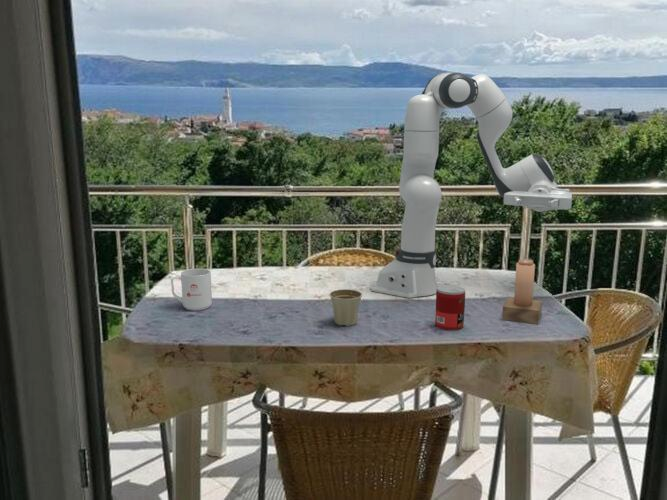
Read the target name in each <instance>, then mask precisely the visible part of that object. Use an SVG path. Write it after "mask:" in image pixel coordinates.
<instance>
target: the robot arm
mask: <svg viewBox="0 0 667 500" xmlns="http://www.w3.org/2000/svg"><path fill="white" fill-rule="evenodd" d="M463 107H467V108H468V109H469V110H470V111H471V112H472V114H473V116H474V118H475V119H476V120H477V124H478V130H477V133H476V139H477V143H478V146H479V149H480V151H481V154H482V156H483V159H484V161H485V163H486V165H487V168H488V170H489V172H490V175H491V177H492V180H493V183H494V187H495V189H496V190H495V191H496V192H497V194H498V195H499V197H501V198H503V204H504V205H506V206H518V207H519V206H520V207H529V208H530V209H531V210H532V211H535V212H538V213H539V212H541V213H542V212H546V211H547V212H549V211H555V210H559V211H560V210H562V211H563V210H570V209H572V202H573V194H572V193H571V189H570V188H564V187H559V185H558V184H557V183H556V181H555V177H556V174H555V171H554V169H553V166H552V165H551V164H550V162H549V161H548V160H547V158H546V157H544V156H543V155H540V154H538V153H532V154H530V155H528V156H525V157H524V158H522V159H521V160H519V161H518V162H515V163H514V164H512V165H511V166H508V167H506V168H505V167H503V165H502V163H501V160H500V158H499V155H498V154H497V150H496V147H495V145H496V143H497V142H498V141H499V139H500V138H501V136H503V134H504V133H505V132H506V130H507V129H508V128H509V126H510V124H511V122H512V120H513V119H512V118H513V109H512V107H511V104H510V102H509V101H508V99H507V97H506V96H505V94H504V92H502V90H501V89H500V88H499V86H498V85H497V84H496V83H495V82H494V80H493V79H491V77H490V76H488V75H487V74H484V73H479V74H475V75H474V76H472V77H469V76H468V75H466V74H464V73H460V72H450V71H449V72H443V73H438V74H436V75H434V76H432V77H431V78H429V80H428V82H427V84H426V85H425V87H424V89H423V90H422V93H421V94H417V95H414V96H412V97H411V98H410V99H409V100H408V103H407V106H406V111H405V112H406V113H405V118H404V128H403V129H404V130H403V155H402V161H401V168H400V169H401V170H400V176H399V185H398V192H399V196H400V198H401V199H402V200H403V201H404V202H405V203H404V212H403V219H402V223H401V233H400V234H401V235H400V236H401V238H400V246H398V247H397V248H396V250H395V251H394V255H393V256H394V259H393V260H391V262H389V263H387V264H386V265H385V266H383V267H382V268H381V269H380V271H379V273H378V276H377V280H376V281H374V282H372V283H371V285H370V291H372V292H375V293H380V294H386V295H392V296H397V297H401V298H402V297H403V298H407V299H413V298H418V297H426V296H432V295H435V294H436V290H437V287H438V284H437V280H436V268H435V267H436V263H437V250H436V248H435V247H436V246H435V245H436V227H437V219H438V215H439V209H440V203H441V201H442V196H443V195H442V189H441V187H440V185H439V183H438V181H437V180H436V179H434V174H435V168H436V164H437V159H438V158H439V148H440V147H439V146H440V145H439V144H440V120H441V115H442V113H443V112H444V111H445V110H451V109H460V108H463Z"/></svg>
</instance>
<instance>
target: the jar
mask: <svg viewBox="0 0 667 500" xmlns="http://www.w3.org/2000/svg"><path fill="white" fill-rule="evenodd" d="M535 269H536V264H535V263H534V260H532V259H528V258H520V259H518V262H516V263H515V278H514V279H515V281H514V293H513V294H514V296H513V298H514V304H515V305H518V306H531V305H532V300H534V299H533V298H534V297H533V296H534V285H535V284H534V282H535V271H536V270H535Z"/></svg>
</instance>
